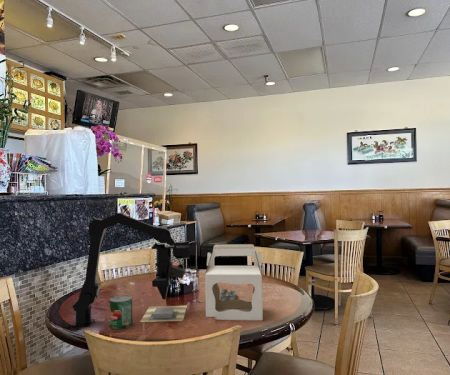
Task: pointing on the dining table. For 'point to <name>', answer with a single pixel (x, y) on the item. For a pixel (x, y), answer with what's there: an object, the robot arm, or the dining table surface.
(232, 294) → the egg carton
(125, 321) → the canned tomato
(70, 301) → the dining table surface
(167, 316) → the tile
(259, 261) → the gable box
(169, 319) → the board
